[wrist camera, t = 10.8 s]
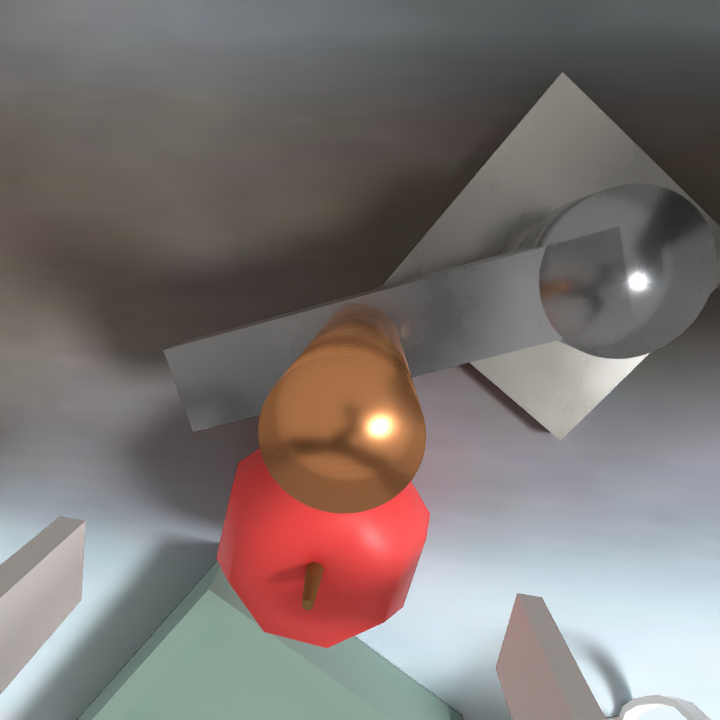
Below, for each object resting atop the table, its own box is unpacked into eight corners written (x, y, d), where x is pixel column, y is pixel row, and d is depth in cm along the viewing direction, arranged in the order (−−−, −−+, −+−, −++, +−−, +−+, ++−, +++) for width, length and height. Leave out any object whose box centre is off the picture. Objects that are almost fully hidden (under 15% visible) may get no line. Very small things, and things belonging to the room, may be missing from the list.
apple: (456, 463, 20) (505, 588, 13) (350, 582, 22) (335, 759, 14) (316, 357, 20) (275, 420, 12) (216, 488, 21) (120, 621, 13)
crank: (661, 174, 14) (1190, 10, 5) (680, 326, 15) (1151, 424, 6) (178, 309, 16) (-106, 375, 6) (224, 439, 17) (34, 660, 7)
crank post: (554, 80, 17) (594, 39, 14) (733, 255, 18) (808, 254, 15) (381, 286, 19) (382, 291, 16) (553, 433, 20) (586, 465, 17)
